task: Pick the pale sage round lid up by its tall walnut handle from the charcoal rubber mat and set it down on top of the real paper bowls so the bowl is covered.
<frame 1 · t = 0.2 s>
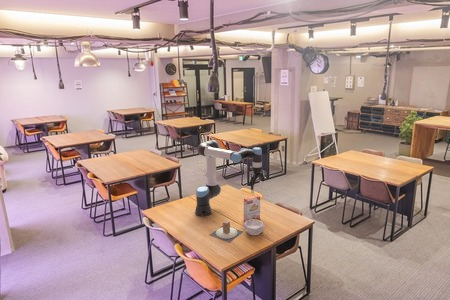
hand: (257, 190, 259), 28 cm above the table, fingers open, 13 cm apart
mat: (226, 233, 246), on the table
paper bowls: (254, 232, 247), on the table
cracker box: (252, 219, 269), on the table
lid: (226, 227, 245), on the mat
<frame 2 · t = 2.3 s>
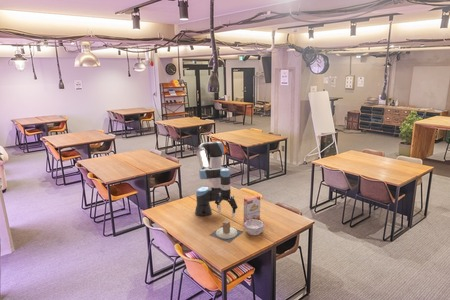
hand: (226, 214, 241), 17 cm above the table, fingers open, 13 cm apart
nothing on the table moved.
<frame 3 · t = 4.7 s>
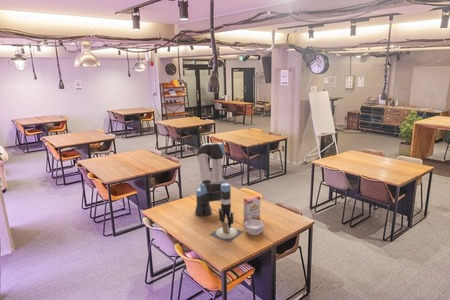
hand: (226, 230, 245), 3 cm above the table, fingers closed on lid, 4 cm apart
lid: (226, 227, 245), on the mat, touching gripper
everything else where it was.
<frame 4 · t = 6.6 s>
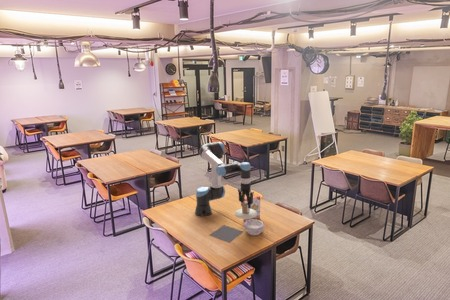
hand: (245, 210, 241), 19 cm above the table, fingers closed on lid, 4 cm apart
lid: (245, 208, 241), point 22 cm above the table, touching gripper
everything else where it was.
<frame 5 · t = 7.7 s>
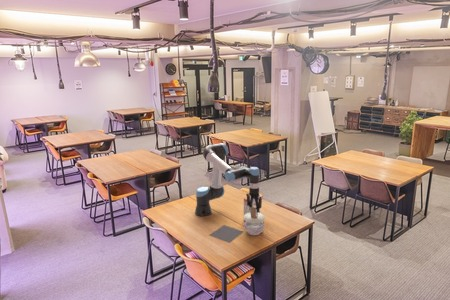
hand: (254, 215, 243), 15 cm above the table, fingers closed on lid, 4 cm apart
lid: (254, 212, 242), point 18 cm above the table, touching gripper
everything else where it was.
when the fingers open (12 cm above the table, at t = 8.8 s): lid drops 2 cm, resting on paper bowls.
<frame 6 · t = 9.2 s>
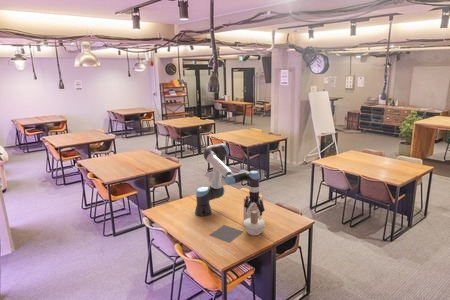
hand: (254, 217, 244), 13 cm above the table, fingers open, 10 cm apart
paper bowls: (254, 232, 247), on the table, touching lid
lid: (254, 217, 244), point 13 cm above the table, touching paper bowls
everything else where it was.
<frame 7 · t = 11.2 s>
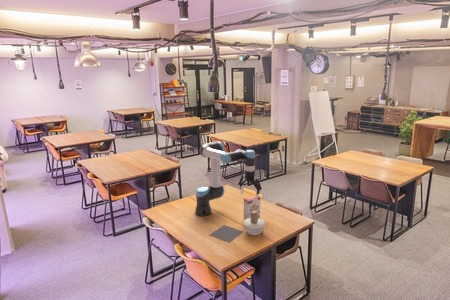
hand: (249, 195, 243), 30 cm above the table, fingers open, 13 cm apart
nothing on the table moved.
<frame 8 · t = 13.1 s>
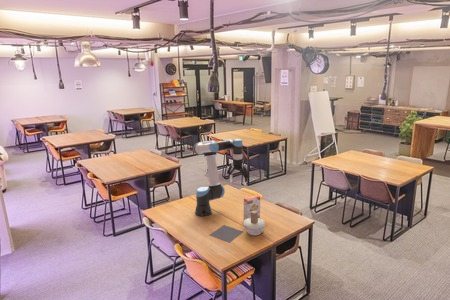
hand: (238, 183, 250), 37 cm above the table, fingers open, 13 cm apart
nothing on the table moved.
at the end: lid 0.2 cm from the paper bowls (horizontally); lid point 12.8 cm above the table; lid tilted 0° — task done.
